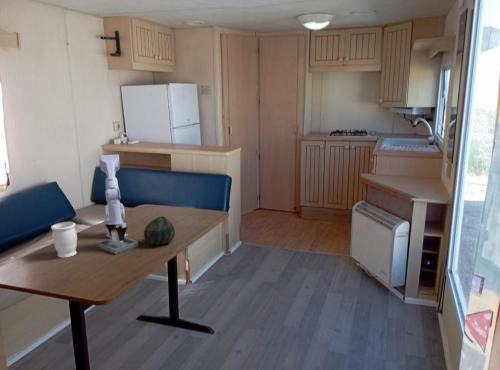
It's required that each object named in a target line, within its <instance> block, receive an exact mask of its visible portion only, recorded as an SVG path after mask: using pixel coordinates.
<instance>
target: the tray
mask: <svg viewBox="0 0 500 370" xmlns="http://www.w3.org/2000/svg"><path fill="white" fill-rule="evenodd" d="M97 244H98V245H97V246H98V248H99V249H100V250H103V251H106V252H108V253H110V254H112V255H117V254H121V253H124V252H127V251H129V250H132V249H135V248H138V247H139V241H137V240H135V239H131V238H129V237H127V236H125V237H124V240H123V246H122V247H119V248H114V247H113V243H112V238H109V239H106V240H103V241H99V242H97Z"/></svg>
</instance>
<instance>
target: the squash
mask: <svg viewBox="0 0 500 370" xmlns="http://www.w3.org/2000/svg"><path fill="white" fill-rule="evenodd" d="M175 231H176V230H175V227H174V225H173V223H172V222H171V221H170V220H169V219H168V218H167V217H165V216H159V217H156V218H155V219H152V220H151V221H149V223H147V225H146V226H145V228H144V231H143V237H144V240H145V241H146V243H148V244H150V245H152V246H154V245H155V246H156V245H158V246H159V245H164V244H165V245H169V244H170V243H171V242H172V241H173V239H174V238H175V233H176V232H175Z"/></svg>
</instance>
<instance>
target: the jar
mask: <svg viewBox="0 0 500 370" xmlns="http://www.w3.org/2000/svg"><path fill="white" fill-rule="evenodd" d="M75 227H76V222H73V221H63V222H57V223H55V224H53V225H51V227H50V228H51V230H52V242H53V245H54V248H55V250H56V252H57V257H58V258H62V259H65V258H70V257H73V256H75V255H76V254H77V250H76V249H77V245H78V243H77V242H78V235H77V231H76V228H75Z"/></svg>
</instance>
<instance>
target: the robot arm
mask: <svg viewBox="0 0 500 370" xmlns="http://www.w3.org/2000/svg"><path fill="white" fill-rule="evenodd" d="M98 158H99V167H100V170H101V172H103V173H105V175H106V178H105V179H104V181H105V199H106V205H105V207H104V214H105V215H104V216H105V221H106V223H105V226H104V227H105V229H106V234H105V237H107V238H109V239H112V234H111V231H112V230H115V229H116V231H117V233H118V237H119V240H120V241H122V240H124V237H127V236H129V235H128V233H126V232H127V229H128V225H127V223H126V222H124V219H125V218H126V213H125V207H124V205H123V203H121V202H120V201H121V192H120V191H121V190H120V188H119V182H118V178H117V177H116V173H117V172H118V171H119V170H120V155H119V154H117V153H116V154H107V155H106V154H104V155H103V154H102V155H99V157H98Z"/></svg>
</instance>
